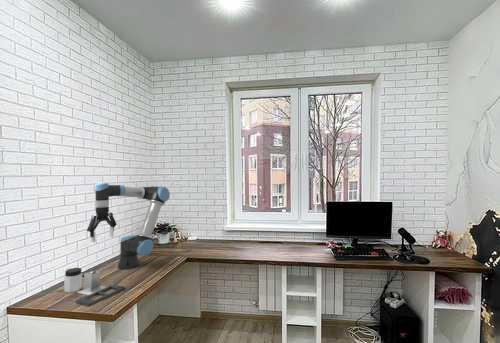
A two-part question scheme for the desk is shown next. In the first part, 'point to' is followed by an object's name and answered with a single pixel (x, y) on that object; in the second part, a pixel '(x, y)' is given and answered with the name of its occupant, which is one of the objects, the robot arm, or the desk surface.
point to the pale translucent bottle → (91, 281)
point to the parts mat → (90, 292)
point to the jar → (72, 280)
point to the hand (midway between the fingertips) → (102, 239)
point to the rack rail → (89, 302)
